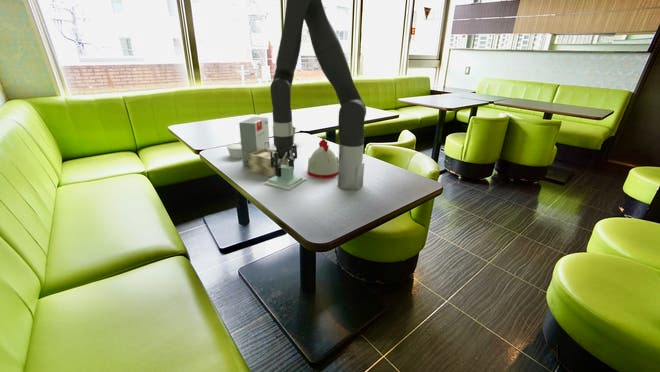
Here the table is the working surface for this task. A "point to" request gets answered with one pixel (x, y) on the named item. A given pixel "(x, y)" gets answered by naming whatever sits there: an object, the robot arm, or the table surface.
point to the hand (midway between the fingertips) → (285, 173)
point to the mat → (283, 185)
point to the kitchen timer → (323, 162)
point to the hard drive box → (253, 136)
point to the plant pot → (293, 133)
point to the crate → (263, 162)
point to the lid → (286, 177)
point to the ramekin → (235, 150)
